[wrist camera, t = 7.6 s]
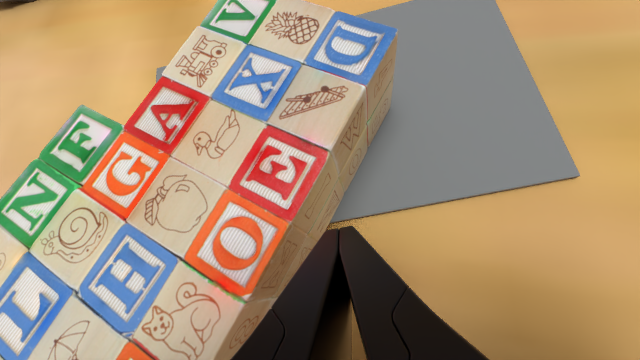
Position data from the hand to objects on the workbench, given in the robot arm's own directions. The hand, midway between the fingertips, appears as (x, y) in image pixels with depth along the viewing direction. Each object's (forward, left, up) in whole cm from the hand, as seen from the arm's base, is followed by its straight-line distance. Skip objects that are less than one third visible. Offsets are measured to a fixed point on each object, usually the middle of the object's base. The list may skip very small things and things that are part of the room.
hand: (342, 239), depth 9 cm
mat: (+9, 0, -7) cm, 12 cm away
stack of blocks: (0, +3, -4) cm, 5 cm away
